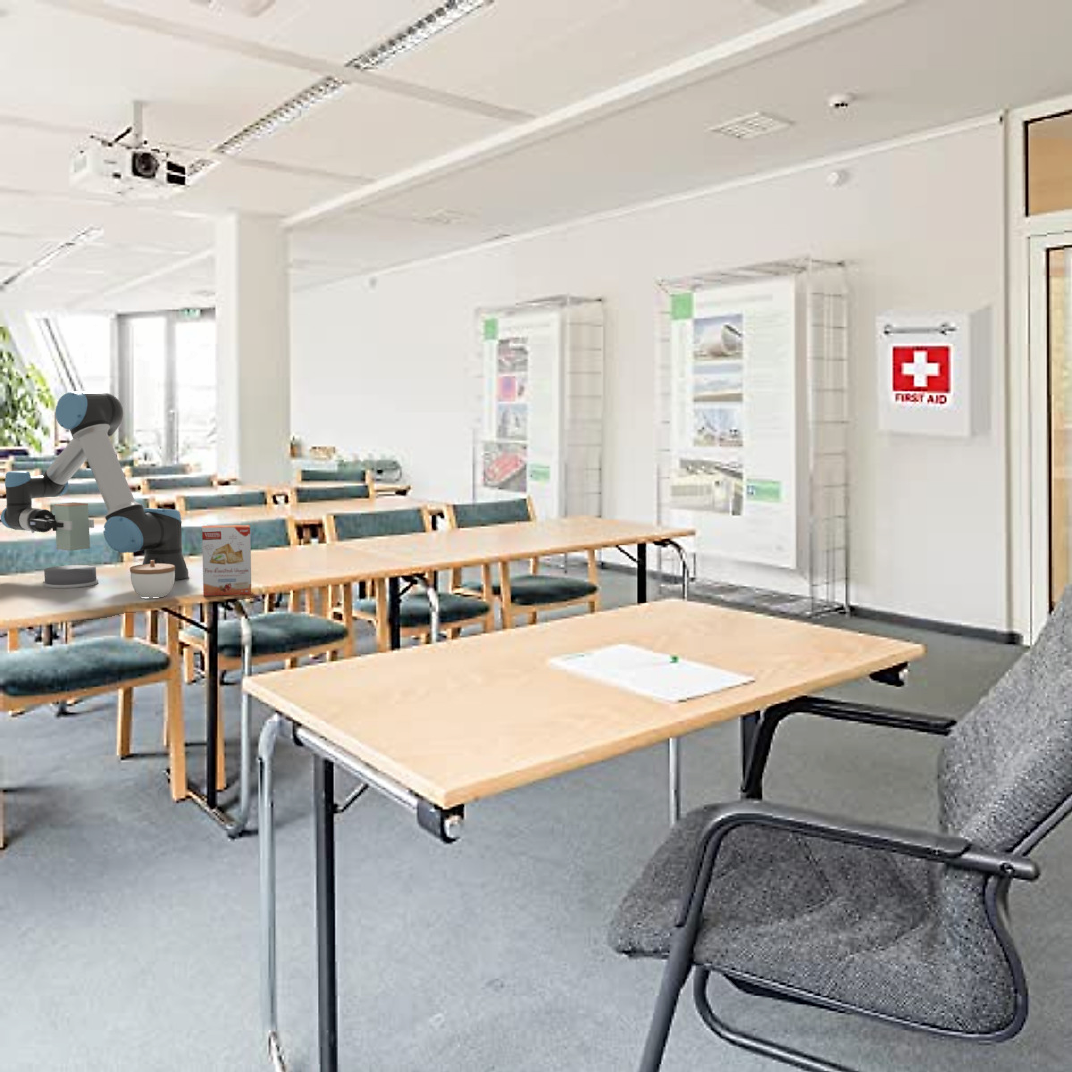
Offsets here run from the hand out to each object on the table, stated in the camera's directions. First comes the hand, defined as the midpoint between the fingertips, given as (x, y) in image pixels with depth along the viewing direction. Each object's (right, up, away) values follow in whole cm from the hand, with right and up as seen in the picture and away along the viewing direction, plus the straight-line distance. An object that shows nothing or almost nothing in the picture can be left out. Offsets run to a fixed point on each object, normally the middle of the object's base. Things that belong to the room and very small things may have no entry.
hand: (82, 524), depth 331 cm
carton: (-4, -8, +4) cm, 9 cm away
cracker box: (+50, -21, -14) cm, 57 cm away
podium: (-4, -19, +1) cm, 19 cm away
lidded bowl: (+30, -22, -19) cm, 42 cm away
